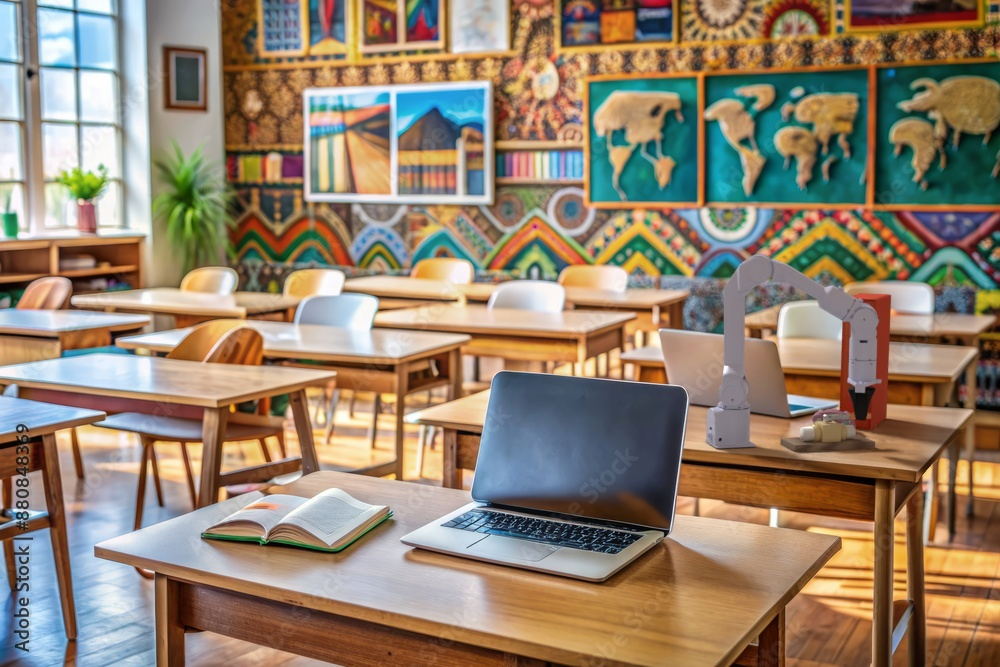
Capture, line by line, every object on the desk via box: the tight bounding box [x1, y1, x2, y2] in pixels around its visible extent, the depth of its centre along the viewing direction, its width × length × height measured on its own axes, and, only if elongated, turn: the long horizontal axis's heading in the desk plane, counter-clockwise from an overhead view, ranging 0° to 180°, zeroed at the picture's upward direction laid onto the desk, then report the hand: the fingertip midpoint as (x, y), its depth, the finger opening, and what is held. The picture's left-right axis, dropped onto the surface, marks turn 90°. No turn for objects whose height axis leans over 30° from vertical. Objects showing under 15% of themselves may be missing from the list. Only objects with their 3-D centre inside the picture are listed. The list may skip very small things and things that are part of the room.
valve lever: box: [823, 412, 871, 422], centre depth 246 cm, size 11×2×2 cm, turn 99°
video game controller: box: [811, 408, 856, 428], centre depth 262 cm, size 10×5×7 cm, turn 63°
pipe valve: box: [799, 421, 857, 442], centre depth 246 cm, size 12×4×4 cm, turn 98°
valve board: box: [779, 434, 876, 453], centre depth 246 cm, size 19×8×2 cm, turn 98°
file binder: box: [838, 292, 892, 431], centre depth 271 cm, size 8×17×32 cm, turn 149°
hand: (860, 419), depth 240 cm, fingers closed
